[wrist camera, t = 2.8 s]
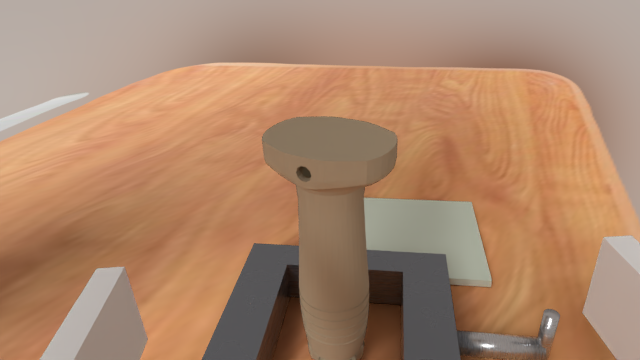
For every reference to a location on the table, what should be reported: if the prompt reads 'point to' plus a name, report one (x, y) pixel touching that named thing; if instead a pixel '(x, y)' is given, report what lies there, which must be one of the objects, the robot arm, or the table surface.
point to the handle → (332, 221)
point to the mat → (430, 234)
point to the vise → (384, 287)
